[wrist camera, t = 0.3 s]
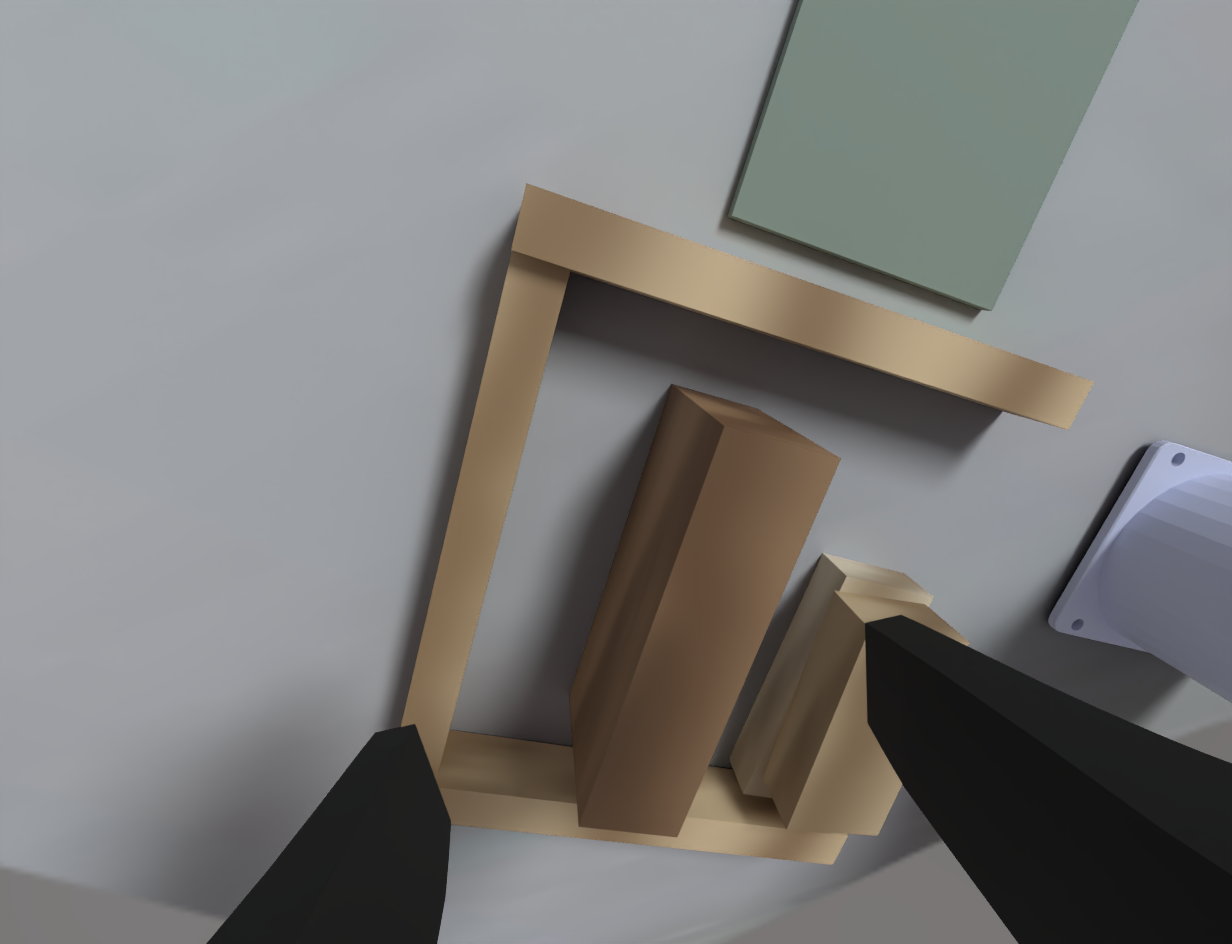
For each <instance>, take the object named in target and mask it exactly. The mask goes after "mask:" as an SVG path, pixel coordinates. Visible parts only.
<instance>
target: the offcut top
mask: <svg viewBox="0 0 1232 944" xmlns="http://www.w3.org/2000/svg"><path fill="white" fill-rule="evenodd" d="M897 615H903V616H905V617H908V618H910V619H912V620H914V621H917V622H919V623H921V624H923V625H925V626H927V627H929V628H931V629H933V630H936V631H938V632H940V633H942V634H944V635H946V636H948V637H950V638H952V639H954V640H956V641H958V642H960V643H962V644H964V645H966V646H969V644H970V642H969V641H967V640H966V639H965V638H964V637H963V636H962V635H960V634H959V633H958V632H957V631H956V630H955V629H953V628H952V627H951V626H950V625H949V624H947V623H946V622H945V621H944V620H943V619H942V618H940V617H939V616H938V615H937V614H936V613H935V612H933V611H932V610H931V609H930V608H929V607H928V606H926V605H925V604H920V603H914V602H907V601H900V600H894V599H887V598H880V597H874V596H867V595H860V594H854V593H847V592H840V591H834V592H833V594H832V597H831V599H830V602H829V605H828V607H827V610H826V613H825V615H824V618H823V620H822V623H821V626H820V628H819V631H818V633H817V636H816V639H815V641H814V644H813V646H812V649H811V652H810V655H809V657H808V660H807V663H806V665H805V668H804V670H803V673H802V676H801V678H800V681H799V684H798V686H797V689H796V691H795V694H794V697H793V699H792V702H791V705H790V707H789V710H788V712H787V715H786V718H785V720H784V723H783V726H782V728H781V731H780V733H779V736H778V739H777V741H776V744H775V747H774V749H773V752H772V754H771V757H770V760H769V762H768V765H767V768H766V770H765V773H764V775H763V778H764V780H765V783H766V785H767V787H768V789H769V792H770V794H771V796H772V798H773V801H774V803H775V805H776V807H777V810H778V812H779V814H780V817H781V819H782V821H783V823H784V826H785V828H786V830H794V831H810V832H826V833H842V834H859V835H875V836H878V834H879V832H880V830H881V828H882V826H883V824H884V822H885V819H886V817H887V815H888V813H889V811H890V809H891V807H892V805H893V803H894V801H895V799H896V796H897V794H898V792H899V790H900V788H901V786H902V782H901V781H900V779H899V777H898V776H897V774H896V772H895V771H894V769H893V767H892V766H891V764H890V762H889V760H888V759H887V757H886V755H885V754H884V752H883V750H882V748H881V746H880V745H879V743H878V741H877V739H876V737H875V736H874V734H873V732H872V730H871V728H870V727H869V725H868V723H867V688H866V648H865V623H866V622H871V621H875V620H880V619H884V618H888V617H893V616H897Z"/></svg>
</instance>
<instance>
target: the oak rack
mask: <svg viewBox="0 0 1232 944" xmlns="http://www.w3.org/2000/svg"><path fill="white" fill-rule="evenodd" d="M511 250H512V253H511V257H510V261H509V266H508V270H507V274H506V278H505V283H504V287H503V291H502V295H501V300H500V304H499V308H498V313H497V317H496V321H495V325H494V330H493V334H492V338H491V343H490V347H489V351H488V355H487V360H486V364H485V368H484V372H483V377H482V381H481V385H480V390H479V394H478V398H477V402H476V407H475V411H474V415H473V420H472V424H471V428H470V432H469V437H468V441H467V445H466V449H465V454H464V458H463V462H462V467H461V471H460V475H459V479H458V484H457V488H456V492H455V497H454V501H453V505H452V509H451V514H450V518H449V522H448V526H447V531H446V535H445V539H444V544H443V548H442V552H441V556H440V561H439V565H438V569H437V574H436V578H435V582H434V586H433V591H432V595H431V599H430V603H429V608H428V612H427V616H426V621H425V625H424V629H423V633H422V638H421V642H420V646H419V651H418V655H417V659H416V663H415V668H414V672H413V676H412V680H411V685H410V689H409V693H408V698H407V702H406V706H405V710H404V715H403V719H402V723H401V727H403V726H407V725H412V724H415V725H416V727H417V730H418V733H419V735H420V738H421V741H422V744H423V746H424V749H425V752H426V754H427V757H428V760H429V762H430V765H431V768H432V771H433V773H434V776H435V779H436V781H437V784H438V787H439V789H440V792H441V795H442V798H443V800H444V803H445V806H446V808H447V811H448V814H449V816H450V819H451V825H461V826H470V827H480V828H489V829H499V830H508V831H518V832H527V833H537V834H546V835H556V836H565V837H575V838H584V839H594V840H603V841H613V842H622V843H632V844H641V845H651V846H660V847H670V848H679V849H689V850H698V851H708V852H717V853H727V854H736V855H746V856H755V857H764V858H774V859H783V860H793V861H802V862H812V863H821V864H831V865H833V863H834V861H835V859H836V858H837V856H838V854H839V852H840V850H841V848H842V847H843V845H844V843H845V841H846V839H847V837H848V835H847V834H842V833H826V832H810V831H794V830H786V828H785V826H784V823H783V821H782V819H781V817H780V814H779V812H778V810H777V807H776V805H775V803H774V801H773V798H768V797H761V796H754V795H747V794H743V792H742V790H741V787H740V785H739V782H738V780H737V777H736V775H735V772H734V770H733V769H726V768H719V767H712V766H708V768H707V770H706V772H705V775H704V777H703V779H702V782H701V784H700V786H699V788H698V791H697V793H696V795H695V798H694V800H693V802H692V805H691V807H690V809H689V812H688V814H687V816H686V819H685V821H684V823H683V826H682V828H681V830H680V832H679V835H678V837H668V836H659V835H649V834H640V833H631V832H622V831H613V830H603V829H594V828H585V827H579V825H578V812H577V798H576V784H575V770H574V757H573V747H569V746H562V745H555V744H547V743H540V742H533V741H526V740H519V739H512V738H505V737H497V736H490V735H483V734H476V733H469V732H462V731H455V730H449V729H450V725H451V722H452V718H453V714H454V710H455V706H456V703H457V699H458V695H459V691H460V687H461V684H462V680H463V676H464V672H465V668H466V665H467V661H468V657H469V653H470V649H471V646H472V642H473V638H474V634H475V631H476V627H477V623H478V619H479V615H480V612H481V608H482V604H483V600H484V596H485V593H486V589H487V585H488V581H489V577H490V574H491V570H492V566H493V562H494V559H495V555H496V551H497V547H498V543H499V540H500V536H501V532H502V528H503V524H504V521H505V517H506V513H507V509H508V505H509V502H510V498H511V494H512V490H513V486H514V483H515V479H516V475H517V471H518V468H519V464H520V460H521V456H522V452H523V449H524V445H525V441H526V437H527V433H528V430H529V426H530V422H531V418H532V414H533V411H534V407H535V403H536V399H537V396H538V392H539V388H540V384H541V380H542V377H543V373H544V369H545V365H546V361H547V358H548V354H549V350H550V346H551V342H552V339H553V335H554V331H555V327H556V324H557V320H558V316H559V312H560V308H561V305H562V301H563V297H564V293H565V289H566V286H567V282H568V278H569V274H570V272H572V273H575V274H578V275H582V276H585V277H588V278H591V279H594V280H597V281H600V282H603V283H606V284H609V285H613V286H616V287H619V288H622V289H625V290H628V291H631V292H634V293H637V294H641V295H644V296H647V297H650V298H653V299H656V300H659V301H662V302H665V303H668V304H672V305H675V306H678V307H681V308H684V309H687V310H690V311H693V312H696V313H700V314H703V315H706V316H709V317H712V318H715V319H718V320H721V321H724V322H727V323H731V324H734V325H737V326H740V327H743V328H746V329H749V330H752V331H755V332H758V333H762V334H765V335H768V336H771V337H774V338H777V339H780V340H783V341H786V342H790V343H793V344H796V345H799V346H802V347H805V348H808V349H811V350H814V351H817V352H821V353H824V354H827V355H830V356H833V357H836V358H839V359H842V360H845V361H849V362H852V363H855V364H858V365H861V366H864V367H867V368H870V369H873V370H876V371H880V372H883V373H886V374H889V375H892V376H895V377H898V378H901V379H904V380H907V381H911V382H914V383H917V384H920V385H923V386H926V387H929V388H932V389H935V390H939V391H942V392H945V393H948V394H951V395H954V396H957V397H960V398H963V399H966V400H970V401H973V402H976V403H979V404H982V405H985V406H988V407H991V408H994V409H998V410H1001V411H1004V412H1007V413H1011V414H1014V415H1018V416H1021V417H1025V418H1028V419H1032V420H1035V421H1039V422H1042V423H1046V424H1049V425H1053V426H1056V427H1060V428H1063V429H1067V430H1069V428H1070V426H1071V424H1072V422H1073V420H1074V419H1075V417H1076V415H1077V413H1078V411H1079V409H1080V408H1081V406H1082V404H1083V402H1084V400H1085V398H1086V396H1087V395H1088V393H1089V391H1090V389H1091V387H1092V385H1093V384H1094V382H1092V381H1089V380H1087V379H1084V378H1081V377H1078V376H1075V375H1072V374H1069V373H1067V372H1064V371H1061V370H1058V369H1055V368H1052V367H1049V366H1047V365H1044V364H1041V363H1038V362H1035V361H1032V360H1030V359H1027V358H1024V357H1021V356H1018V355H1015V354H1012V353H1010V352H1007V351H1004V350H1001V349H998V348H995V347H992V346H990V345H987V344H984V343H981V342H978V341H975V340H972V339H970V338H967V337H964V336H961V335H958V334H955V333H952V332H950V331H947V330H944V329H941V328H938V327H935V326H932V325H930V324H927V323H924V322H921V321H918V320H915V319H912V318H910V317H907V316H904V315H901V314H898V313H895V312H892V311H890V310H887V309H884V308H881V307H878V306H875V305H872V304H870V303H867V302H864V301H861V300H858V299H855V298H852V297H850V296H847V295H844V294H841V293H838V292H835V291H832V290H830V289H827V288H824V287H821V286H818V285H815V284H813V283H810V282H807V281H804V280H801V279H798V278H795V277H793V276H790V275H787V274H784V273H781V272H778V271H775V270H773V269H770V268H767V267H764V266H761V265H758V264H755V263H753V262H750V261H747V260H744V259H741V258H738V257H735V256H733V255H730V254H727V253H724V252H721V251H718V250H715V249H713V248H710V247H707V246H704V245H701V244H698V243H695V242H693V241H690V240H687V239H684V238H681V237H678V236H675V235H673V234H670V233H667V232H664V231H661V230H658V229H655V228H653V227H650V226H647V225H644V224H641V223H638V222H635V221H633V220H630V219H627V218H624V217H621V216H618V215H615V214H613V213H610V212H607V211H604V210H601V209H598V208H595V207H593V206H590V205H587V204H584V203H581V202H578V201H576V200H573V199H570V198H567V197H564V196H561V195H558V194H556V193H553V192H550V191H547V190H544V189H541V188H538V187H536V186H533V185H530V184H527V183H526V188H525V192H524V196H523V201H522V205H521V209H520V213H519V218H518V222H517V226H516V231H515V235H514V239H513V243H512V248H511Z"/></svg>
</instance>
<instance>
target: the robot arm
mask: <svg viewBox="0 0 1232 944" xmlns="http://www.w3.org/2000/svg"><path fill="white" fill-rule="evenodd" d="M1048 622H1049V625H1050V626H1051V627H1052V628H1054V629H1055V630H1057V631H1058V632H1060V633H1065V634H1069V635H1074V636H1078V637H1083V638H1087V639H1091V640H1096V641H1100V642H1105V643H1109V644H1113V645H1118V646H1122V647H1127V648H1131V649H1136V650H1140V651H1144V652H1149V653H1151V654H1153V655H1154V656H1156V657H1157V658H1159V659H1161V660H1162V661H1164V662H1166V663H1167V664H1169V665H1170V666H1172V667H1174V668H1175V669H1177V670H1179V671H1180V672H1182V673H1184V674H1185V675H1187V676H1188V677H1190V678H1192V679H1193V680H1195V681H1197V682H1198V683H1200V684H1201V685H1203V686H1205V687H1206V688H1208V689H1210V690H1211V691H1213V692H1215V693H1216V694H1218V695H1219V696H1221V697H1223V698H1224V699H1226V700H1228V701H1229V702H1231V703H1232V462H1231V461H1228V460H1225V459H1222V458H1219V457H1216V456H1213V455H1210V454H1207V453H1204V452H1201V451H1198V450H1195V449H1192V448H1189V447H1186V446H1183V445H1180V444H1177V443H1173V442H1170V441H1166V440H1160V441H1157V442H1155V443H1153V444H1152V445H1151V446H1150V447H1149V448H1148V449H1147V451H1146V452H1145V454H1144V456H1143V457H1142V459H1141V461H1140V463H1139V464H1138V466H1137V468H1136V469H1135V471H1134V473H1133V474H1132V476H1131V478H1130V480H1129V481H1128V483H1127V485H1126V486H1125V488H1124V490H1123V491H1122V493H1121V495H1120V497H1119V498H1118V500H1117V502H1116V503H1115V505H1114V507H1113V508H1112V510H1111V512H1110V514H1109V515H1108V517H1107V519H1106V520H1105V522H1104V524H1103V525H1102V527H1101V529H1100V531H1099V532H1098V534H1097V536H1096V537H1095V539H1094V541H1093V542H1092V544H1091V546H1090V548H1089V549H1088V551H1087V553H1086V554H1085V556H1084V558H1083V559H1082V561H1081V563H1080V565H1079V566H1078V568H1077V570H1076V571H1075V573H1074V575H1073V576H1072V578H1071V580H1070V581H1069V583H1068V585H1067V587H1066V588H1065V590H1064V592H1063V593H1062V595H1061V597H1060V598H1059V600H1058V602H1057V604H1056V605H1055V607H1054V609H1053V610H1052V612H1051V614H1050V616H1049V619H1048ZM865 648H866V688H867V723H868V725H869V727H870V728H871V730H872V732H873V734H874V736H875V737H876V739H877V741H878V743H879V745H880V746H881V748H882V750H883V752H884V754H885V755H886V757H887V759H888V760H889V762H890V764H891V766H892V767H893V769H894V771H895V772H896V774H897V776H898V777H899V779H900V781H901V782H902V784H903V786H904V787H905V789H906V790H907V791H908V793H909V794H910V796H911V797H912V798H913V800H914V801H915V803H916V804H917V805H918V807H919V808H920V810H921V811H922V812H923V814H924V815H925V816H926V818H927V819H928V821H929V822H930V823H931V825H932V826H933V827H934V829H935V830H936V832H937V833H938V834H939V836H940V837H941V838H942V840H943V841H944V843H945V844H946V845H947V847H948V848H949V849H950V851H951V852H952V853H953V855H954V856H955V858H956V859H957V860H958V862H959V863H960V864H961V866H962V867H963V868H964V870H965V871H966V872H967V874H968V875H969V876H970V878H971V879H972V881H973V882H974V883H975V885H976V886H977V887H978V889H979V890H980V891H981V893H982V894H983V896H984V897H985V898H986V900H987V901H988V902H989V904H990V905H991V906H992V908H993V909H994V911H995V912H996V913H997V915H998V916H999V917H1000V919H1001V920H1002V921H1003V923H1004V924H1005V926H1006V927H1007V928H1008V930H1009V931H1010V932H1011V934H1012V935H1013V937H1014V938H1015V939H1016V941H1017V942H1018V943H1019V944H1232V763H1229V762H1226V761H1224V760H1221V759H1218V758H1216V757H1213V756H1211V755H1208V754H1205V753H1203V752H1200V751H1198V750H1195V749H1193V748H1190V747H1188V746H1185V745H1183V744H1180V743H1178V742H1175V741H1173V740H1170V739H1168V738H1166V737H1163V736H1161V735H1158V734H1156V733H1154V732H1152V731H1149V730H1147V729H1145V728H1142V727H1140V726H1138V725H1135V724H1133V723H1131V722H1128V721H1126V720H1124V719H1121V718H1119V717H1117V716H1114V715H1112V714H1110V713H1107V712H1105V711H1103V710H1101V709H1098V708H1096V707H1094V706H1092V705H1089V704H1087V703H1085V702H1083V701H1081V700H1078V699H1076V698H1074V697H1072V696H1070V695H1067V694H1065V693H1063V692H1061V691H1059V690H1057V689H1055V688H1052V687H1050V686H1048V685H1046V684H1044V683H1042V682H1040V681H1038V680H1036V679H1033V678H1031V677H1029V676H1027V675H1025V674H1023V673H1021V672H1019V671H1017V670H1015V669H1013V668H1011V667H1009V666H1007V665H1004V664H1002V663H1000V662H998V661H996V660H994V659H992V658H990V657H988V656H986V655H984V654H982V653H980V652H978V651H976V650H974V649H972V648H970V647H968V646H966V645H964V644H962V643H960V642H958V641H956V640H954V639H952V638H950V637H948V636H946V635H944V634H942V633H940V632H938V631H936V630H933V629H931V628H929V627H927V626H925V625H923V624H921V623H919V622H917V621H914V620H912V619H910V618H908V617H905V616H903V615H897V616H893V617H888V618H884V619H880V620H875V621H871V622H866V623H865ZM450 830H451V819H450V816H449V814H448V811H447V808H446V806H445V803H444V800H443V798H442V795H441V792H440V789H439V787H438V784H437V781H436V779H435V776H434V773H433V771H432V768H431V765H430V762H429V760H428V757H427V754H426V752H425V749H424V746H423V744H422V741H421V738H420V735H419V733H418V730H417V727H416V725H415V724H412V725H407V726H403V727H398V728H394V729H390V730H385V731H381V732H376V733H375V734H374V735H373V736H372V737H371V739H370V740H369V741H368V742H367V744H366V745H365V746H364V747H363V749H362V750H361V751H360V753H359V754H358V755H357V756H356V758H355V759H354V760H353V762H352V763H351V764H350V765H349V767H348V768H347V769H346V771H345V772H344V773H343V775H342V776H341V777H340V779H339V780H338V781H337V782H336V784H335V785H334V786H333V788H332V789H331V790H330V792H329V793H328V794H327V796H326V797H325V798H324V799H323V801H322V802H321V803H320V805H319V806H318V807H317V809H316V810H315V811H314V812H313V814H312V815H311V816H310V818H309V819H308V820H307V821H306V823H305V824H304V825H303V826H302V828H301V829H300V830H299V832H298V833H297V834H296V835H295V837H294V838H293V839H292V840H291V842H290V843H289V844H288V846H287V847H286V848H285V849H284V851H283V852H282V853H281V854H280V856H279V857H278V858H277V860H276V861H275V862H274V863H273V865H272V866H271V867H270V868H269V870H268V871H267V872H266V873H265V875H264V876H263V877H262V878H261V879H260V881H259V882H258V883H257V884H256V885H255V886H254V888H253V889H252V890H251V891H250V892H249V894H248V895H247V896H246V897H245V898H244V900H243V901H242V902H241V903H240V904H239V906H238V907H237V908H236V909H235V910H234V911H233V913H232V914H231V915H230V916H229V917H228V919H227V920H226V921H225V922H224V923H223V925H222V926H221V927H220V928H219V929H218V931H217V932H216V933H215V934H214V935H213V937H212V938H211V939H210V940H209V941H208V942H207V944H437V941H438V936H439V930H440V925H441V919H442V913H443V907H444V902H445V895H446V884H447V872H448V861H449V845H450Z"/></svg>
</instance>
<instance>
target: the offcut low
mask: <svg viewBox="0 0 1232 944" xmlns="http://www.w3.org/2000/svg"><path fill="white" fill-rule="evenodd" d="M834 591H840V592H847V593H854V594H860V595H867V596H874V597H880V598H887V599H894V600H900V601H907V602H914V603H920V604H925V605H926V606H928V607H929V606H930V604H931V602H932V600H933V598H934V597H933V596H932V595H930V594H929V593H928V592H927V591H925V590H924V589H923V588H922V587H920V586H919V585H918V584H917V583H916V582H914V581H913V580H912V579H911V578H909V577H908V576H907V575H906V574H904V573H900V572H896V571H892V570H889V569H885V568H881V567H877V566H873V565H869V564H865V563H861V562H857V561H853V560H849V559H845V558H841V557H837V556H833V555H829V554H825V553H823V554H822V556H821V558H820V560H819V563H818V565H817V567H816V569H815V571H814V573H813V576H812V578H811V580H810V582H809V584H808V587H807V589H806V591H805V593H804V595H803V598H802V600H801V602H800V604H799V606H798V608H797V611H796V613H795V615H794V617H793V619H792V622H791V624H790V626H789V628H788V630H787V633H786V635H785V637H784V639H783V641H782V643H781V646H780V648H779V650H778V652H777V654H776V657H775V659H774V661H773V663H772V665H771V668H770V670H769V672H768V674H767V676H766V679H765V681H764V683H763V685H762V687H761V689H760V692H759V694H758V696H757V698H756V700H755V703H754V705H753V707H752V709H751V711H750V714H749V716H748V718H747V720H746V722H745V724H744V727H743V729H742V731H741V733H740V735H739V738H738V740H737V742H736V744H735V746H734V749H733V751H732V753H731V755H730V757H729V760H730V762H731V765H732V767H733V770H734V772H735V775H736V777H737V780H738V782H739V785H740V787H741V790H742V792H743V794H747V795H754V796H761V797H768V798H772V796H771V794H770V792H769V789H768V787H767V785H766V783H765V780H764V778H763V775H764V773H765V770H766V768H767V765H768V762H769V760H770V757H771V754H772V752H773V749H774V747H775V744H776V741H777V739H778V736H779V733H780V731H781V728H782V726H783V723H784V720H785V718H786V715H787V712H788V710H789V707H790V705H791V702H792V699H793V697H794V694H795V691H796V689H797V686H798V684H799V681H800V678H801V676H802V673H803V670H804V668H805V665H806V663H807V660H808V657H809V655H810V652H811V649H812V646H813V644H814V641H815V639H816V636H817V633H818V631H819V628H820V626H821V623H822V620H823V618H824V615H825V613H826V610H827V607H828V605H829V602H830V599H831V597H832V594H833V592H834Z"/></svg>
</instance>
